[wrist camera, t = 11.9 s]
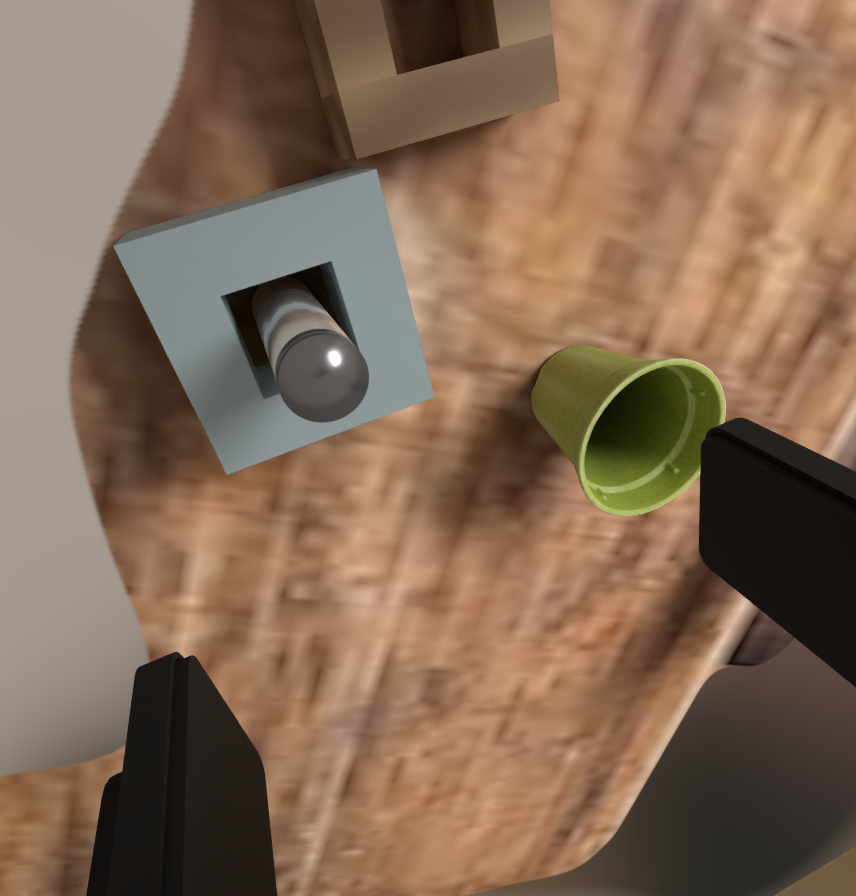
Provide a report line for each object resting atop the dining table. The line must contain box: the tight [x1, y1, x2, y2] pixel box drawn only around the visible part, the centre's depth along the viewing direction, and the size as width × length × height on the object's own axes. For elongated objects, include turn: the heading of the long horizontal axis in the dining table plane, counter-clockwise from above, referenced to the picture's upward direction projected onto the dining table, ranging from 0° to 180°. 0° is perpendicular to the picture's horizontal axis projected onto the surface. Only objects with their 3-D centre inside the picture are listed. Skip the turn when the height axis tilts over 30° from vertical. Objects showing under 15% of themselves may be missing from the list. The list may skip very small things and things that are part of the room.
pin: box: [252, 276, 369, 423], centre depth 26 cm, size 3×3×12 cm
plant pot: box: [531, 345, 726, 516], centre depth 35 cm, size 9×9×9 cm
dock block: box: [113, 168, 434, 475], centre depth 28 cm, size 11×11×5 cm
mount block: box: [293, 0, 559, 159], centre depth 25 cm, size 10×10×4 cm
